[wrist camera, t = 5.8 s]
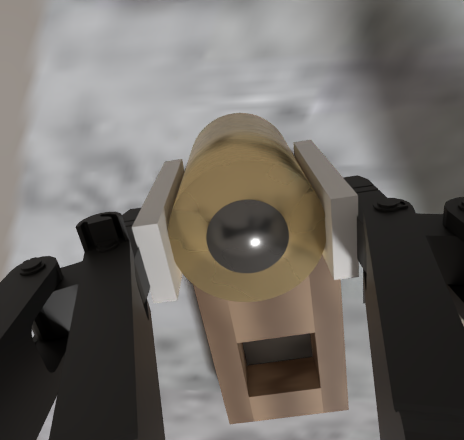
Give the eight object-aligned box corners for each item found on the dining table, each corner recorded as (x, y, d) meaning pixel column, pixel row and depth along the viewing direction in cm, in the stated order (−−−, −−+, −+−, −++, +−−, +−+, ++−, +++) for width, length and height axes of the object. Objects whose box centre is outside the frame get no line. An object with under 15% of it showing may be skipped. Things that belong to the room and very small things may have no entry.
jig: (324, 191, 32) (336, 210, 29) (338, 377, 42) (348, 409, 38) (185, 214, 33) (180, 235, 29) (229, 391, 42) (229, 424, 39)
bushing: (284, 105, 18) (323, 149, 11) (292, 202, 20) (330, 293, 13) (181, 121, 18) (151, 174, 11) (199, 214, 20) (185, 311, 13)
